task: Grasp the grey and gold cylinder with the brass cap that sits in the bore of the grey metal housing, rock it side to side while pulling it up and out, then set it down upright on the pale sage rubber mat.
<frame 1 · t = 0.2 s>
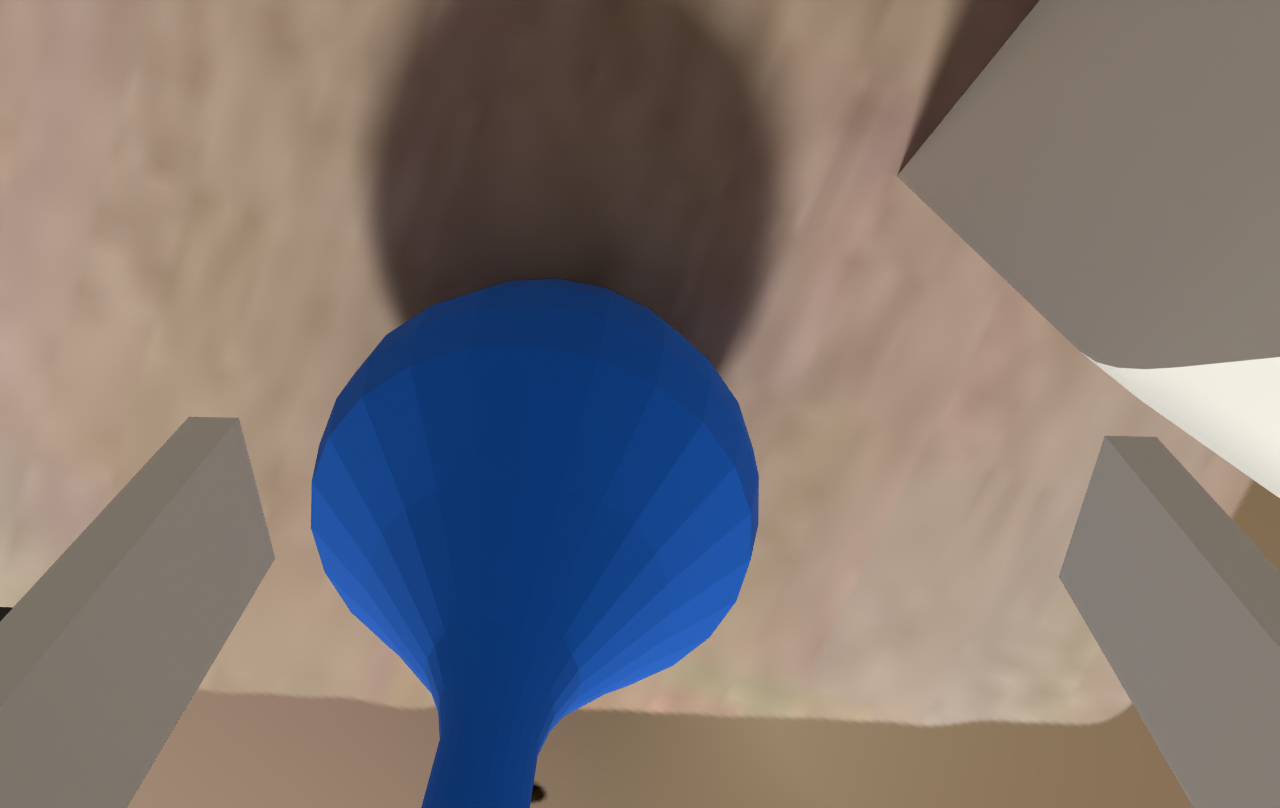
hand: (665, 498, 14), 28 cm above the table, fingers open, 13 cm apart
milk: (1089, 141, 38), on the table
vase: (563, 392, 45), on the table
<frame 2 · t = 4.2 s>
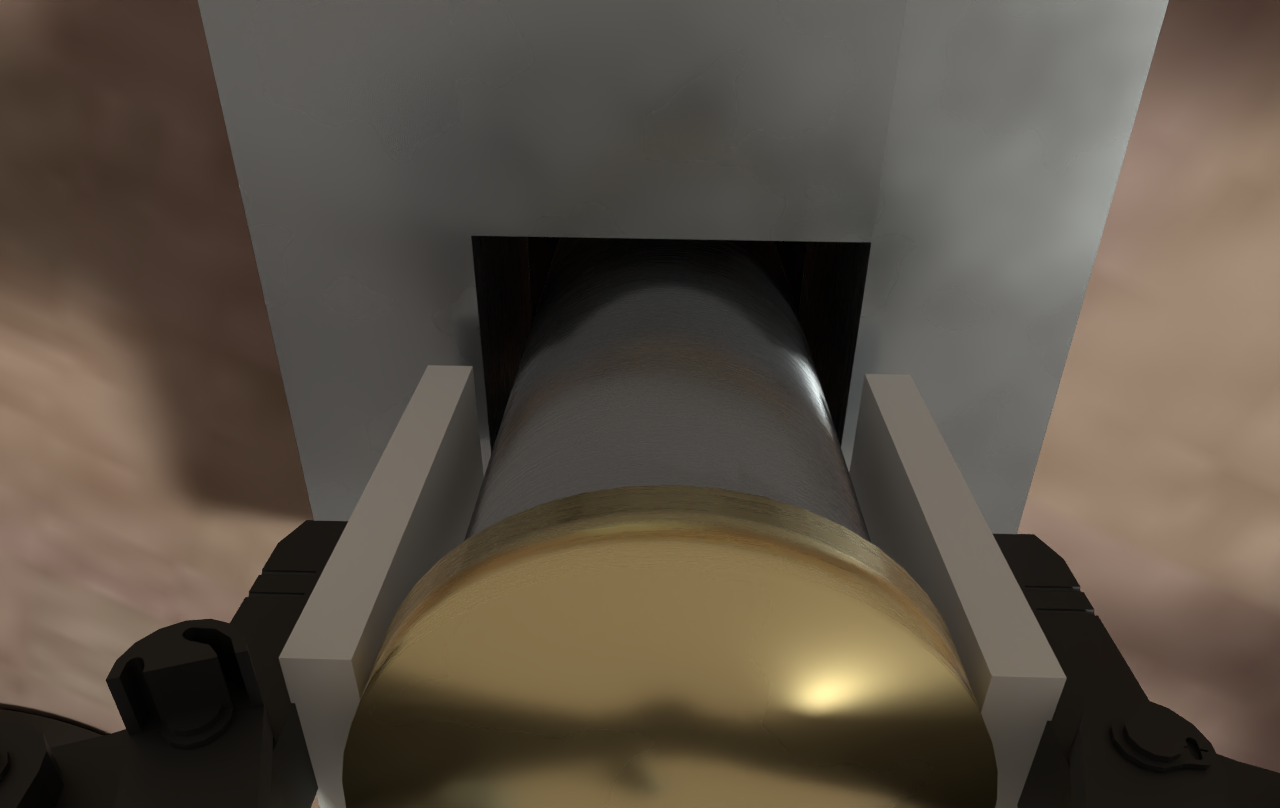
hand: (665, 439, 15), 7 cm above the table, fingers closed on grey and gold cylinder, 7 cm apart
grey and gold cylinder: (665, 442, 15), in the housing, touching gripper
housing: (665, 286, 21), on the table
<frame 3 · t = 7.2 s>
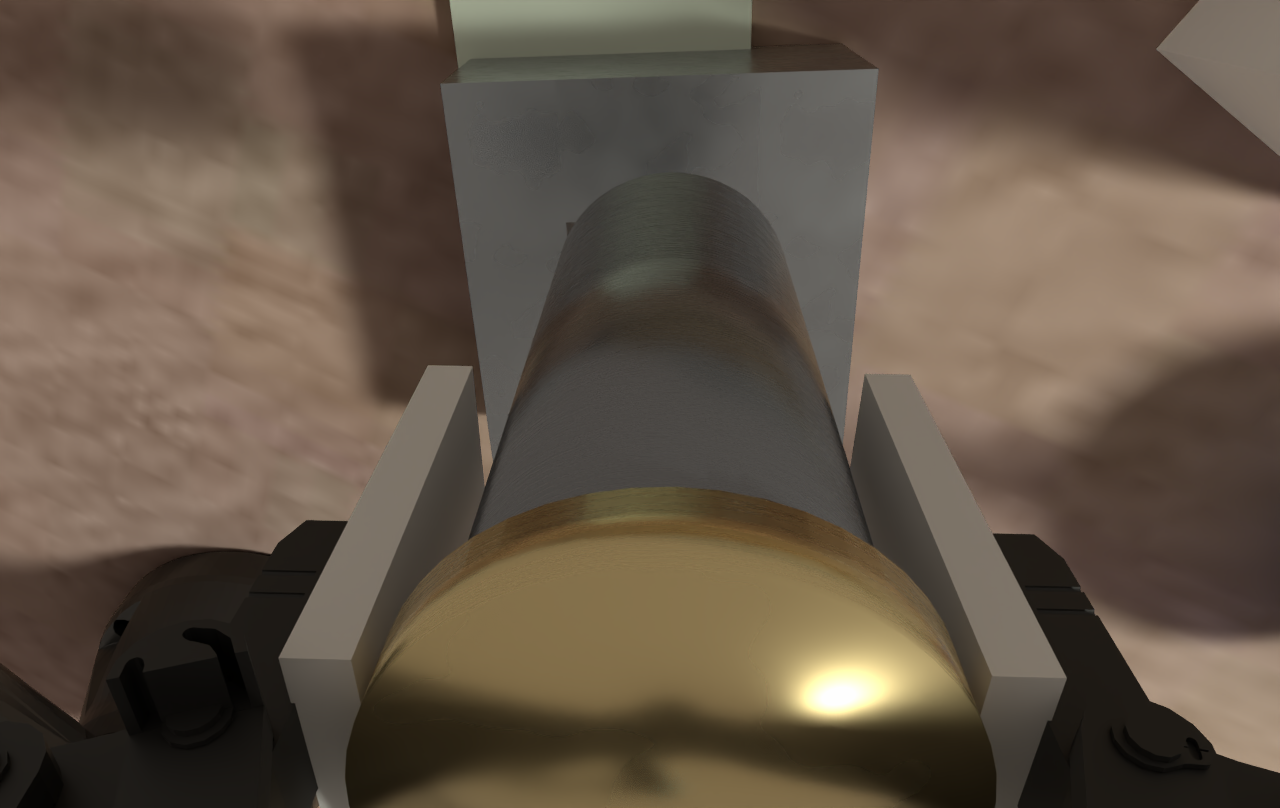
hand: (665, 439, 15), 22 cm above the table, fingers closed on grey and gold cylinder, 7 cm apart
grey and gold cylinder: (670, 444, 15), point 22 cm above the table, touching gripper
housing: (661, 251, 37), on the table
when the fingers open (9 cm above the table, at t = 10.4 s): grey and gold cylinder drops 1 cm, resting on mat.
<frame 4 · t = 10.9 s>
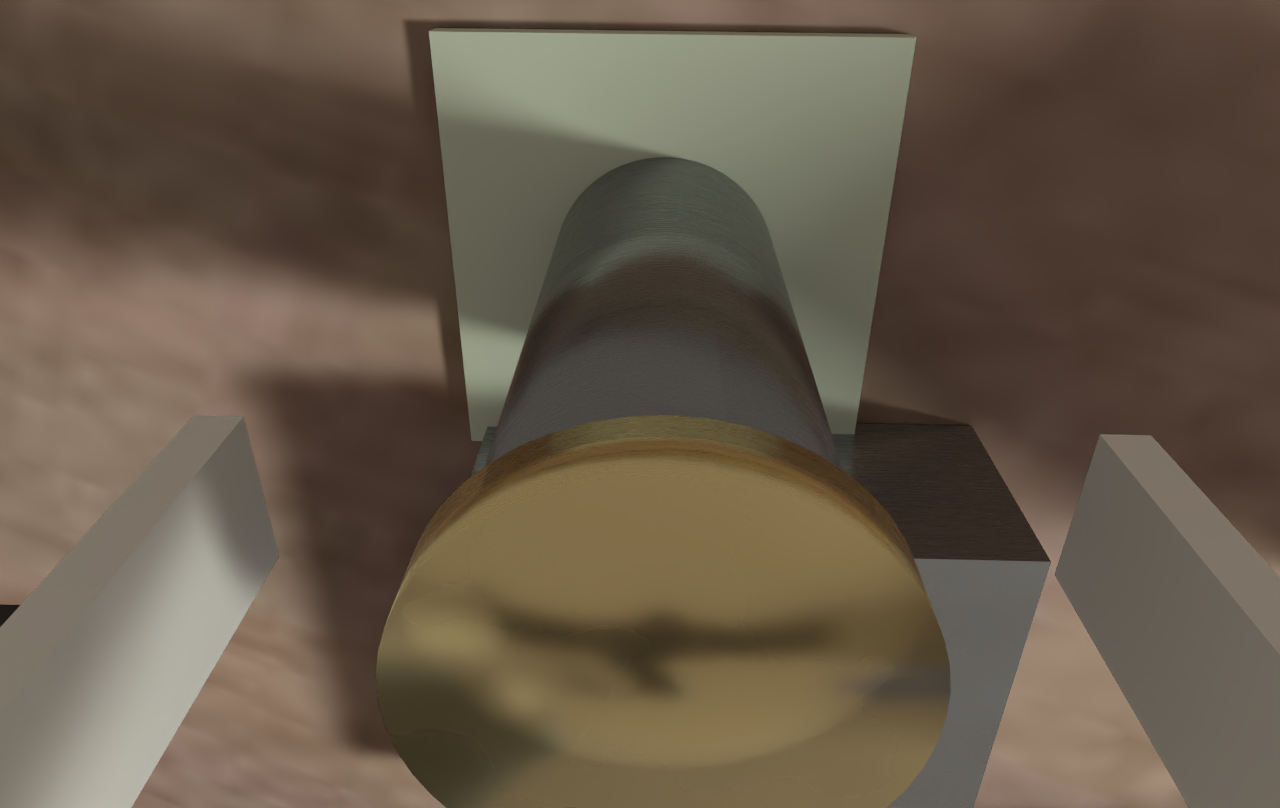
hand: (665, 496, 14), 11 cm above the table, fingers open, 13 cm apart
mat: (665, 256, 23), on the table
grey and gold cylinder: (662, 405, 16), on the mat, point 8 cm above the table
housing: (715, 623, 29), on the table
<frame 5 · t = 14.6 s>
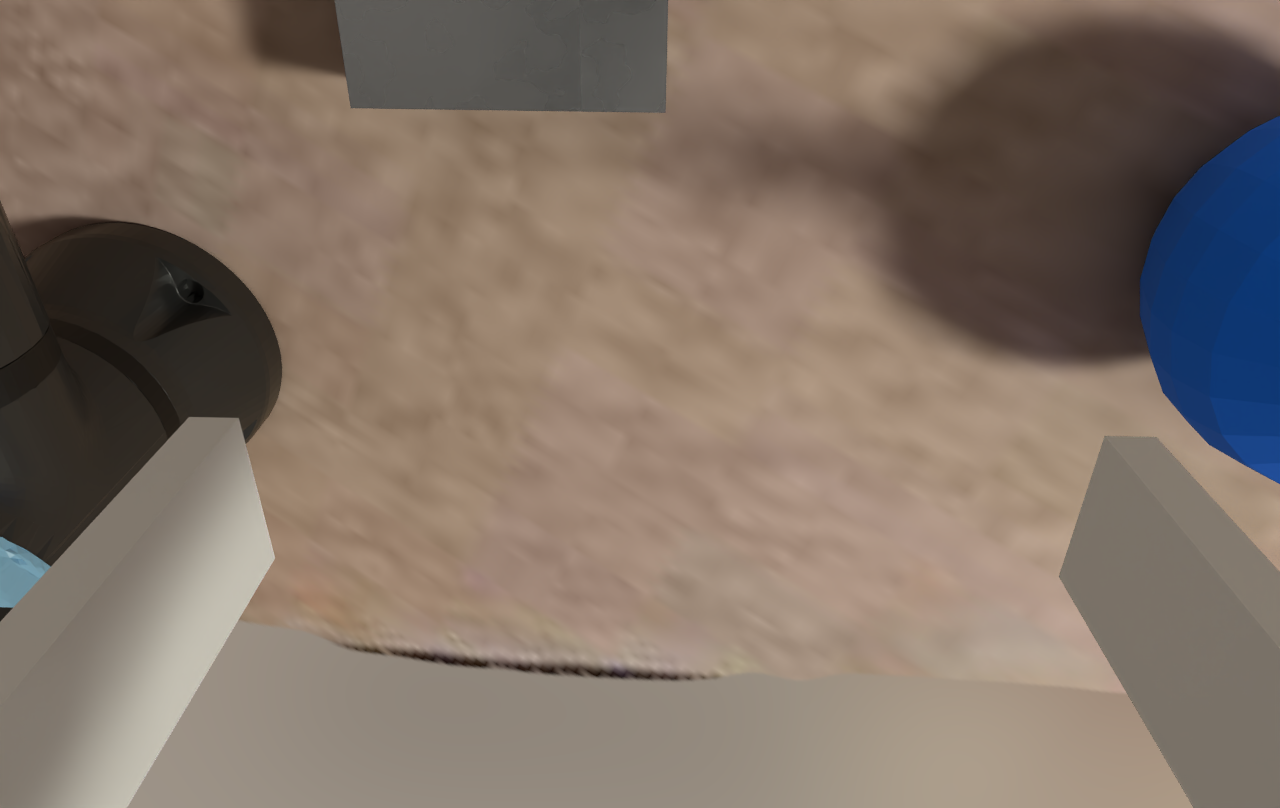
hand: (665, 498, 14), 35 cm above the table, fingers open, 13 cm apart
vase: (1257, 231, 47), on the table
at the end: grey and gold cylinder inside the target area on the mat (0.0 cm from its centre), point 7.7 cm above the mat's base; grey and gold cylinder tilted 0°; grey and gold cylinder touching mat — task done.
